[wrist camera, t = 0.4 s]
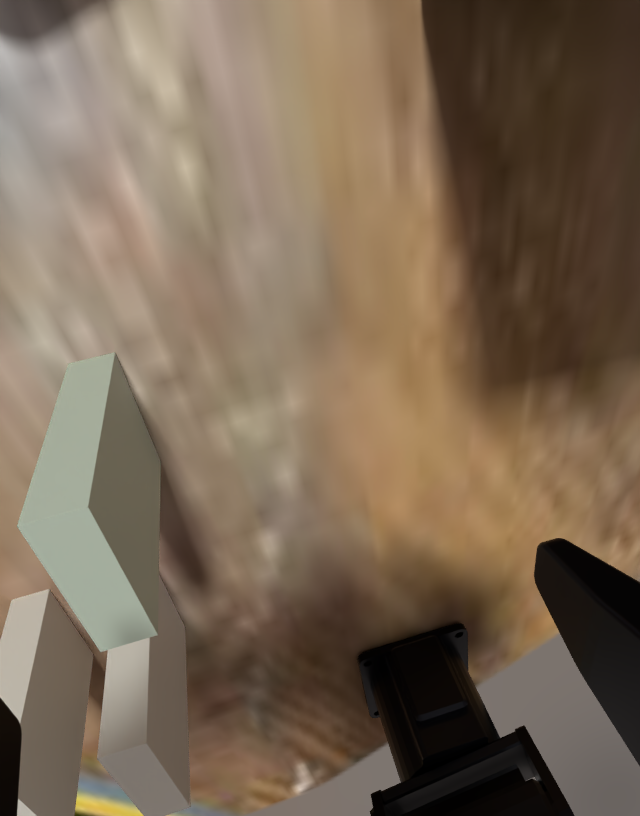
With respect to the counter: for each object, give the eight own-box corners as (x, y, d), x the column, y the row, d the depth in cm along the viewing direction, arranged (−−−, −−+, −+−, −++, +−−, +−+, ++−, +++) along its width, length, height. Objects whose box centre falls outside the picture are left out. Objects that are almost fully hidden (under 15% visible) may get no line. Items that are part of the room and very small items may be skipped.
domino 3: (185, 626, 28) (190, 807, 21) (152, 636, 28) (148, 820, 21) (151, 559, 25) (146, 743, 18) (116, 569, 25) (97, 758, 18)
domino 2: (93, 654, 27) (70, 846, 21) (60, 664, 27) (26, 861, 20) (49, 589, 24) (6, 787, 18) (11, 599, 24) (-46, 804, 18)
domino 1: (161, 462, 22) (158, 635, 16) (120, 472, 22) (100, 652, 16) (114, 352, 19) (87, 507, 13) (68, 363, 19) (17, 526, 13)
